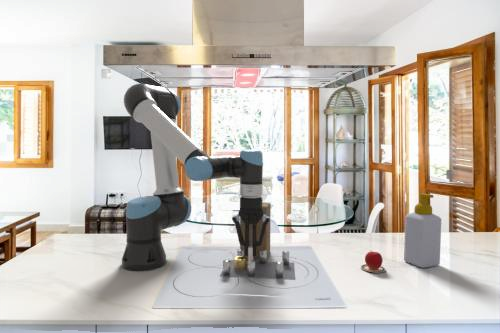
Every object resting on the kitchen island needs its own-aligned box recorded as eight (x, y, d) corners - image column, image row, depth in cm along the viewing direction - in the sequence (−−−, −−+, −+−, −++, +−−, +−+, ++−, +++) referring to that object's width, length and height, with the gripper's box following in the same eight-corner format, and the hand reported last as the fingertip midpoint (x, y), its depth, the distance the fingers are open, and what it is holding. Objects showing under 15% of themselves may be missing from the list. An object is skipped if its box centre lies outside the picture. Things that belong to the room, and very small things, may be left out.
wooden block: (266, 261, 130) (266, 206, 128) (239, 259, 132) (239, 205, 130) (270, 252, 139) (270, 202, 138) (245, 251, 141) (245, 201, 140)
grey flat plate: (219, 277, 113) (219, 276, 113) (227, 261, 129) (227, 260, 129) (295, 280, 111) (295, 279, 111) (294, 263, 127) (294, 262, 127)
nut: (232, 269, 119) (232, 259, 119) (235, 265, 123) (235, 255, 123) (247, 270, 118) (247, 260, 118) (249, 266, 123) (249, 256, 122)
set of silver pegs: (222, 275, 114) (222, 261, 114) (229, 260, 128) (229, 248, 128) (289, 278, 112) (289, 264, 112) (289, 263, 126) (289, 250, 126)
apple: (355, 267, 124) (356, 248, 123) (374, 264, 126) (375, 246, 126) (371, 275, 116) (371, 255, 116) (390, 272, 119) (391, 253, 119)
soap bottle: (422, 269, 121) (425, 196, 120) (402, 261, 130) (404, 192, 128) (441, 265, 125) (444, 195, 123) (420, 258, 133) (422, 191, 132)
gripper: (230, 197, 116) (229, 268, 117) (270, 198, 114) (269, 270, 116) (233, 194, 123) (233, 260, 125) (271, 195, 122) (270, 262, 123)
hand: (250, 265), depth 120 cm, fingers closed
